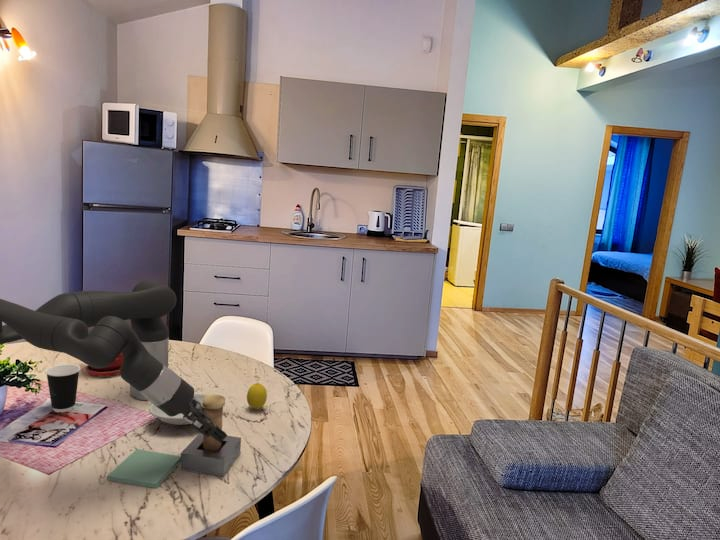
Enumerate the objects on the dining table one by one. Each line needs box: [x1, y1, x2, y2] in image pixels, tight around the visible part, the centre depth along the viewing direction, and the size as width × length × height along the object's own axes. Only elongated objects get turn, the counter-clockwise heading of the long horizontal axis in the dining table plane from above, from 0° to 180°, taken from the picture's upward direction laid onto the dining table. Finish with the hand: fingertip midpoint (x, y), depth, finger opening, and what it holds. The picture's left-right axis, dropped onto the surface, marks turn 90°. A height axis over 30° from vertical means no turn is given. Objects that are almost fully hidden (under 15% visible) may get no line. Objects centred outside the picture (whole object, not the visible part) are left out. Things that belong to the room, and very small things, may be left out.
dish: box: [148, 393, 210, 426], centre depth 132 cm, size 18×14×5 cm
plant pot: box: [85, 352, 123, 377], centre depth 159 cm, size 13×13×12 cm
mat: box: [106, 448, 181, 489], centre depth 110 cm, size 11×11×1 cm
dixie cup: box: [45, 363, 81, 413], centre depth 133 cm, size 8×8×11 cm
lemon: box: [246, 382, 268, 410], centre depth 142 cm, size 6×6×8 cm
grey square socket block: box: [180, 432, 242, 477], centre depth 115 cm, size 10×10×4 cm
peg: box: [203, 394, 226, 453], centre depth 114 cm, size 5×5×15 cm
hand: (221, 433), depth 116 cm, fingers closed on peg, 4 cm apart
